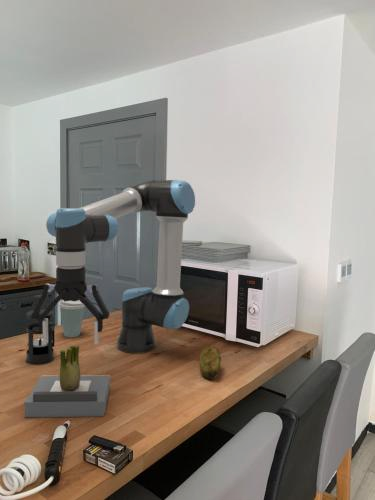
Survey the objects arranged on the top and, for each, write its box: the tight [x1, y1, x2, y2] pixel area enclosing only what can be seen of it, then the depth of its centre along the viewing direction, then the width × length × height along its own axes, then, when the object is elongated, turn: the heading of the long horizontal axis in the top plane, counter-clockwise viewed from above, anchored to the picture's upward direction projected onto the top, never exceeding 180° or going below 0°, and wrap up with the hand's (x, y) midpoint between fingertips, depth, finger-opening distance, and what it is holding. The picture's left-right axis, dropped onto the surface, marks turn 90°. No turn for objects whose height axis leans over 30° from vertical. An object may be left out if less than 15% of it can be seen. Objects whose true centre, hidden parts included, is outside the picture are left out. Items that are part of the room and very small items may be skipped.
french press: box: [25, 294, 56, 366], centre depth 139 cm, size 12×9×23 cm
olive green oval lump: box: [199, 346, 222, 380], centre depth 133 cm, size 8×13×8 cm, turn 162°
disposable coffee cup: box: [58, 299, 86, 338], centre depth 166 cm, size 11×11×15 cm
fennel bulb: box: [59, 345, 81, 390], centre depth 109 cm, size 6×5×12 cm
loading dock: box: [24, 374, 111, 418], centre depth 111 cm, size 20×17×6 cm
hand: (71, 343), depth 108 cm, fingers open, 13 cm apart
